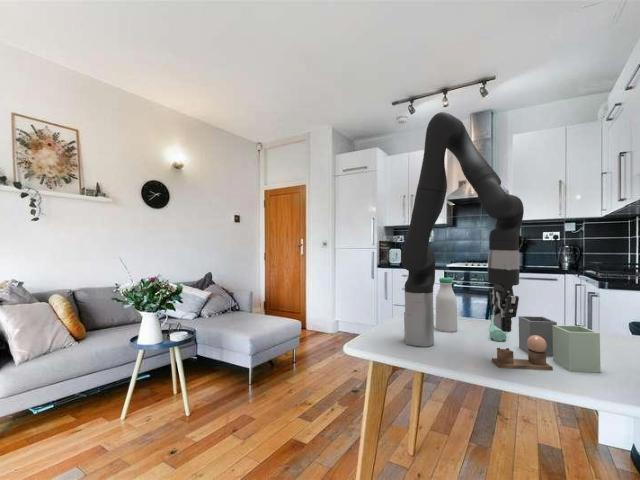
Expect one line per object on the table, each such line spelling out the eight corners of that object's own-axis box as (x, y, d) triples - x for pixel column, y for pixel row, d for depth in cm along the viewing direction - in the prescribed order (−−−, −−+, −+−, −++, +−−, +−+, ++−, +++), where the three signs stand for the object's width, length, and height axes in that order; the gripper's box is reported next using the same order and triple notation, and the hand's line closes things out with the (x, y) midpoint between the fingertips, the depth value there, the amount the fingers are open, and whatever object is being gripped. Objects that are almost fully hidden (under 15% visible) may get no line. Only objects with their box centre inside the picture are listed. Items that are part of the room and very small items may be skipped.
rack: (499, 367, 84) (499, 352, 84) (491, 360, 89) (491, 346, 89) (552, 370, 82) (552, 354, 82) (542, 363, 87) (541, 348, 87)
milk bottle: (460, 332, 118) (459, 279, 118) (440, 332, 118) (439, 279, 118) (452, 327, 125) (451, 277, 126) (433, 327, 126) (432, 277, 126)
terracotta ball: (532, 354, 83) (531, 337, 83) (524, 348, 87) (523, 333, 87) (550, 355, 82) (550, 338, 82) (541, 349, 87) (540, 333, 87)
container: (503, 324, 105) (503, 310, 127) (484, 329, 108) (487, 314, 130) (511, 342, 104) (509, 324, 126) (492, 346, 107) (494, 328, 129)
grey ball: (496, 331, 84) (497, 314, 84) (490, 326, 89) (490, 311, 89) (514, 332, 84) (514, 315, 84) (507, 327, 88) (507, 311, 88)
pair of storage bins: (552, 370, 82) (551, 331, 82) (519, 347, 100) (518, 316, 100) (600, 372, 80) (599, 333, 80) (557, 349, 98) (557, 317, 98)
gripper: (479, 264, 94) (479, 321, 94) (498, 268, 80) (497, 335, 80) (507, 265, 93) (506, 323, 93) (531, 269, 79) (530, 337, 79)
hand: (502, 328), depth 86 cm, fingers closed on grey ball, 4 cm apart
